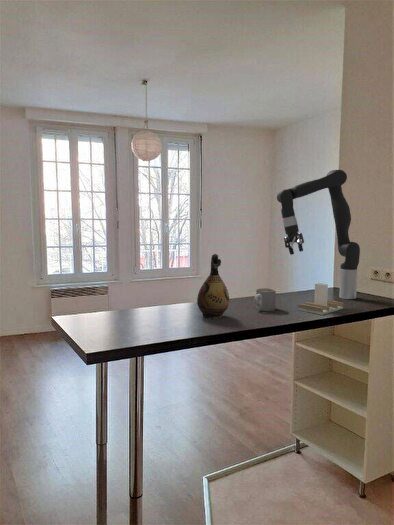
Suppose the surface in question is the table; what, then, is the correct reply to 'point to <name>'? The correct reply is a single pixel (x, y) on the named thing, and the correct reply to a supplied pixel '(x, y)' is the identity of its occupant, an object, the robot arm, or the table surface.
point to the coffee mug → (265, 299)
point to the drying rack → (320, 307)
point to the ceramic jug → (213, 293)
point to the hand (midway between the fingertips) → (296, 252)
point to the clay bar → (321, 294)
